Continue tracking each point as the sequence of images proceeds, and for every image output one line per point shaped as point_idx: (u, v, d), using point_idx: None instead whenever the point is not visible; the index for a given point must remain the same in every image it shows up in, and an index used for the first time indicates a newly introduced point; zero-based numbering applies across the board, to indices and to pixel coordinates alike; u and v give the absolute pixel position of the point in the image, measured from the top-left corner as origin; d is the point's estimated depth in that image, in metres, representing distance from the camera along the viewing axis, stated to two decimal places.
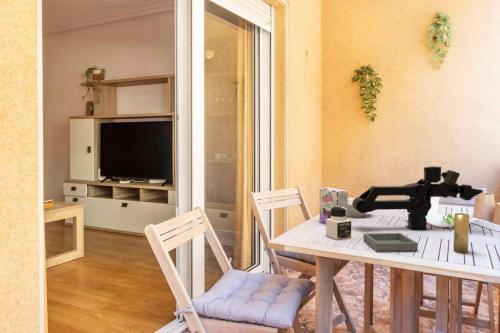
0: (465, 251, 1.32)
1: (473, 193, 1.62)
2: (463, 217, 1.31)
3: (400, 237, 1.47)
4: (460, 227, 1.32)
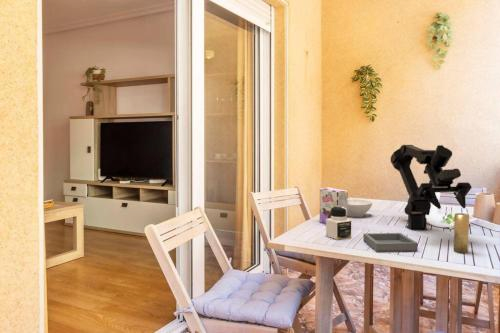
0: (465, 251, 1.32)
1: (431, 199, 1.44)
2: (463, 217, 1.31)
3: (400, 237, 1.47)
4: (460, 227, 1.32)
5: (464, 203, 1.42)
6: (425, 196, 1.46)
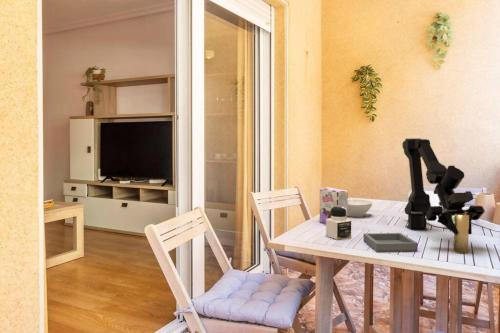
0: (465, 251, 1.32)
1: (447, 223, 1.36)
2: (463, 217, 1.31)
3: (400, 237, 1.47)
4: (460, 227, 1.32)
5: (469, 229, 1.33)
6: (441, 220, 1.38)
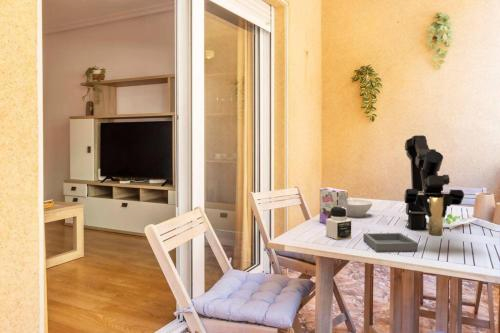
0: (438, 234, 1.33)
1: (423, 206, 1.37)
2: (435, 199, 1.32)
3: (400, 237, 1.47)
4: (432, 209, 1.33)
5: (444, 212, 1.33)
6: (418, 202, 1.39)
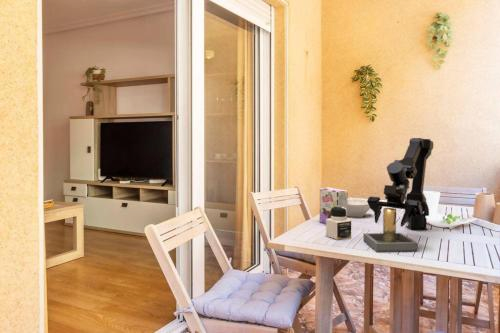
0: None
1: None
2: (386, 211, 1.40)
3: (400, 237, 1.47)
4: (384, 220, 1.41)
5: (402, 221, 1.38)
6: (374, 209, 1.49)
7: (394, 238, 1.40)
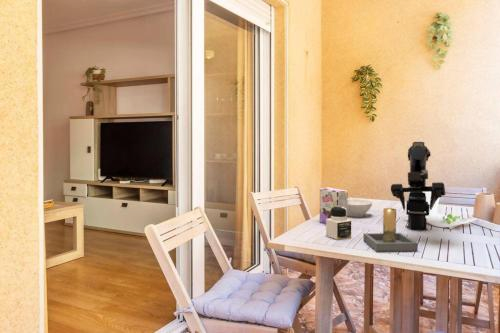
0: None
1: None
2: (386, 211, 1.40)
3: (400, 237, 1.47)
4: (384, 220, 1.41)
5: (430, 205, 1.43)
6: (398, 196, 1.53)
7: (394, 238, 1.40)
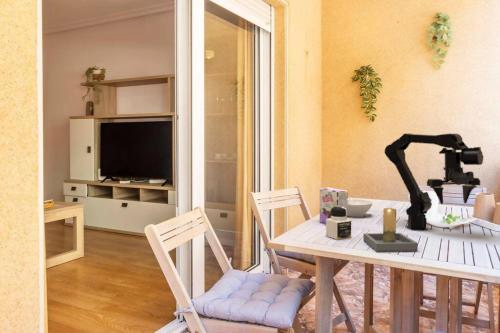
0: None
1: (437, 192, 1.57)
2: (386, 211, 1.40)
3: (400, 237, 1.47)
4: (384, 220, 1.41)
5: (466, 199, 1.55)
6: (433, 188, 1.58)
7: (394, 238, 1.40)
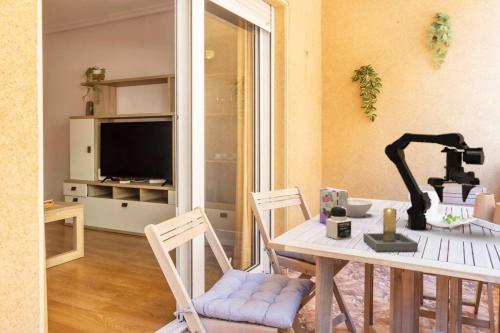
0: None
1: (437, 191, 1.58)
2: (386, 211, 1.40)
3: (400, 237, 1.47)
4: (384, 220, 1.41)
5: (465, 199, 1.57)
6: (433, 186, 1.58)
7: (394, 238, 1.40)
